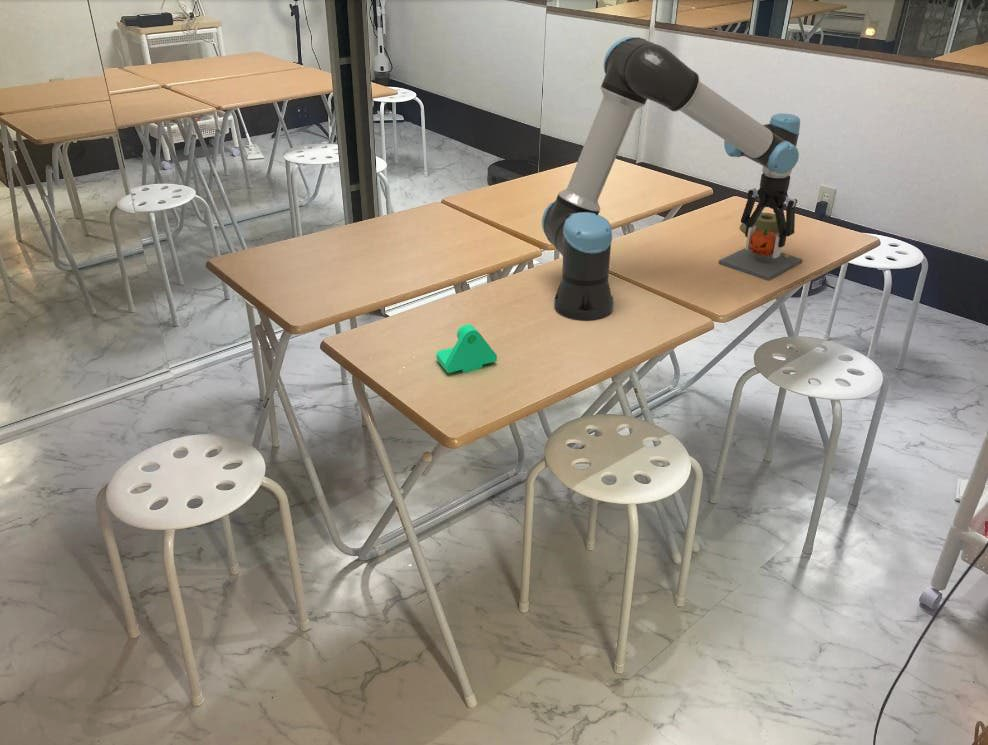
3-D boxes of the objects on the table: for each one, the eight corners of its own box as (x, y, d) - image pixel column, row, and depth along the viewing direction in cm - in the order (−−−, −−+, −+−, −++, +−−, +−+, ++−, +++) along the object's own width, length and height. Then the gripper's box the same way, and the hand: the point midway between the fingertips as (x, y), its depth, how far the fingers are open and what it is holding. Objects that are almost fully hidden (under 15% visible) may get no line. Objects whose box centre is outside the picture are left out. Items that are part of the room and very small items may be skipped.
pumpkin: (756, 246, 232) (761, 222, 228) (781, 254, 227) (786, 229, 223) (742, 253, 227) (746, 228, 224) (767, 261, 222) (771, 236, 218)
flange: (775, 229, 239) (801, 217, 248) (732, 216, 249) (758, 205, 258) (773, 244, 242) (798, 231, 251) (730, 231, 251) (756, 219, 260)
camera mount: (483, 350, 187) (482, 311, 181) (496, 365, 181) (496, 325, 175) (435, 361, 182) (433, 321, 177) (447, 377, 176) (446, 336, 171)
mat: (768, 280, 218) (769, 275, 218) (718, 263, 228) (719, 259, 228) (802, 262, 229) (802, 257, 228) (752, 247, 239) (753, 242, 238)
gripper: (819, 179, 211) (802, 259, 222) (749, 163, 224) (737, 239, 236) (804, 185, 206) (788, 266, 218) (735, 168, 219) (723, 246, 231)
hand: (762, 252), depth 227 cm, fingers closed on pumpkin, 8 cm apart
